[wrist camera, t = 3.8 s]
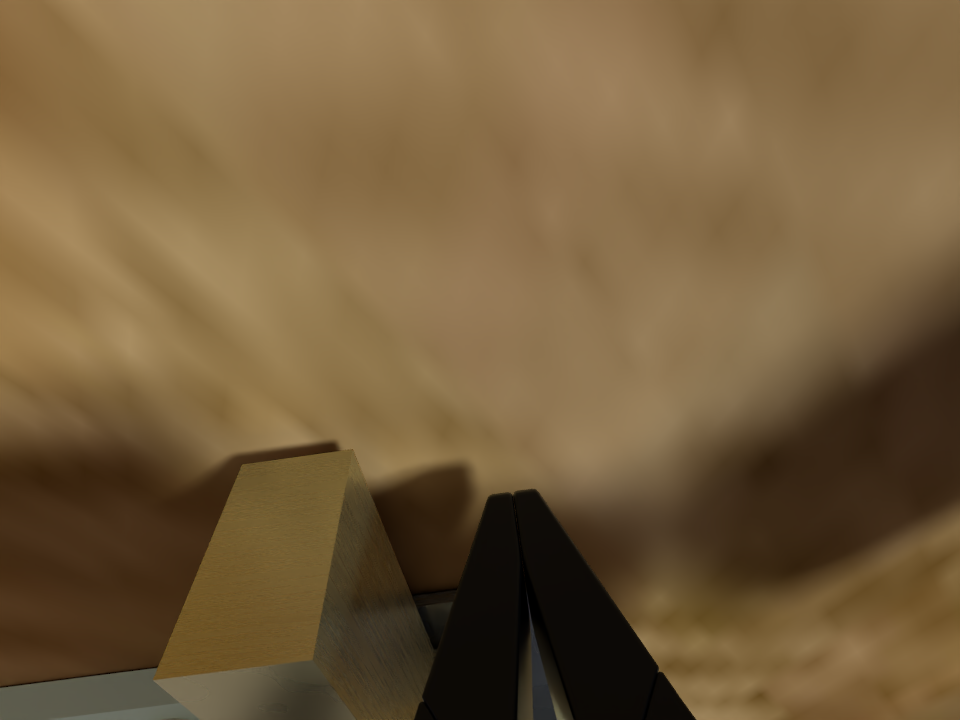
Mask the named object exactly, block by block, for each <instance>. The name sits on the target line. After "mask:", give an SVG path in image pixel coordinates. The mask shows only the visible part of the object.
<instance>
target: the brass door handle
mask: <svg viewBox="0 0 960 720" xmlns="http://www.w3.org/2000/svg"><path fill="white" fill-rule="evenodd" d="M436 652H437V649H433V647H432V645H431V642H430V640H429V637H428V635H427V632H426V630H425V627H424V625H423V622H422V620H421V617H420V615H419V612H418V610H417V607H416V605H415V602H414V600H413V597H412V595H411V592H410V590H409V588H408V585H407V583H406V580H405V578H404V575H403V573H402V570H401V568H400V565H399V563H398V560H397V558H396V555H395V553H394V550H393V548H392V545H391V543H390V540H389V538H388V535H387V533H386V530H385V528H384V525H383V523H382V521H381V518H380V516H379V513H378V511H377V508H376V506H375V503H374V501H373V498H372V496H371V493H370V491H369V488H368V486H367V483H366V481H365V478H364V476H363V473H362V471H361V468H360V466H359V463H358V461H357V458H356V456H355V454H354V451H353V449H351V450H344V451H336V452H329V453H322V454H315V455H308V456H300V457H293V458H286V459H279V460H272V461H264V462H257V463H250V464H243V465H242V466H241V468H240V471H239V473H238V476H237V478H236V481H235V483H234V485H233V488H232V490H231V493H230V495H229V497H228V500H227V502H226V505H225V507H224V509H223V512H222V514H221V517H220V519H219V521H218V524H217V526H216V529H215V531H214V533H213V536H212V538H211V541H210V543H209V546H208V548H207V550H206V553H205V555H204V558H203V560H202V562H201V565H200V567H199V570H198V572H197V574H196V577H195V579H194V582H193V584H192V586H191V589H190V591H189V594H188V596H187V598H186V601H185V603H184V606H183V608H182V611H181V613H180V615H179V618H178V620H177V623H176V625H175V627H174V630H173V632H172V635H171V637H170V639H169V642H168V644H167V647H166V649H165V651H164V654H163V656H162V659H161V661H160V664H159V666H158V668H157V671H156V673H155V676H154V678H153V681H154V682H155V683H156V684H158V685H159V686H160V687H161V688H162V689H164V690H165V691H166V692H167V693H168V694H170V695H171V696H172V697H173V698H174V699H176V700H177V701H178V702H179V703H181V704H182V705H183V706H184V707H185V708H187V709H188V710H189V711H190V712H191V713H193V714H194V715H195V716H196V717H197V718H199V719H200V720H414V717H415V714H416V711H417V708H418V705H419V703H420V702H424V701H423V699H422V694H423V691H424V688H425V685H426V682H427V679H428V676H429V673H430V670H431V667H432V664H433V661H434V658H435V655H436Z"/></svg>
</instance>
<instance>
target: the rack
mask: <svg viewBox="0 0 960 720" xmlns="http://www.w3.org/2000/svg"><path fill="white" fill-rule="evenodd" d="M156 671H157V668H152V669H144V670H136V671H129V672H121V673H113V674H105V675H97V676H90V677H82V678H74V679H66V680H58V681H51V682H43V683H35V684H27V685H19V686H11V687H4V688H0V720H200V719H199V718H197V717H196V716H195V715H194V714H193V713H191V712H190V711H189V710H188V709H187V708H185V707H184V706H183V705H182V704H181V703H179V702H178V701H177V700H176V699H174V698H173V697H172V696H171V695H170V694H168V693H167V692H166V691H165V690H164V689H162V688H161V687H160V686H159V685H158V684H156V683H155V682H154V681H153V678H154V676H155V673H156Z"/></svg>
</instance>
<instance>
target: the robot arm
mask: <svg viewBox="0 0 960 720" xmlns="http://www.w3.org/2000/svg"><path fill="white" fill-rule="evenodd" d="M513 498H514V500H513ZM514 505H515V508H514ZM515 512H516V515H515ZM516 519H517V522H516ZM517 526H518V529H517ZM518 534H519V536H518ZM519 541H520V543H519ZM520 548H521V550H520ZM521 555H522V557H521ZM522 562H523V564H522ZM523 569H524V571H523ZM524 576H525V578H524ZM525 583H526V585H525ZM526 590H527V592H526ZM527 597H528V599H527ZM528 604H529V606H528ZM529 610H530V615H531V621H532V625H533V629H534V634H535V638H536V641H537V645H538V649H539V653H540V657H541V661H542V664H543V668H544V672H545V676H546V680H547V683H548V687H549V691H550V695H551V699H552V702H553V706H554V710H555V714H556V718H557V720H696V719H695V717H694V716H693V715H692V713H691V712H690V711H689V709H688V708H687V706H686V705H685V704H684V702H683V701H682V699H681V698H680V697H679V695H678V694H677V692H676V691H675V689H674V688H673V687H672V685H671V684H670V682H669V681H668V679H667V678H666V676H665V675H664V673H662V672H658V671H659V667H658V665H657V664H656V662H655V661H654V659H653V658H652V656H651V655H650V653H649V652H648V651H647V649H646V648H645V646H644V645H643V643H642V642H641V640H640V639H639V637H638V636H637V635H636V633H635V632H634V630H633V629H632V627H631V626H630V624H629V623H628V621H627V620H626V619H625V617H624V616H623V614H622V613H621V611H620V610H619V608H618V607H617V605H616V604H615V603H614V601H613V600H612V598H611V597H610V595H609V594H608V592H607V591H606V589H605V588H604V587H603V585H602V584H601V582H600V581H599V579H598V578H597V576H596V575H595V573H594V572H593V571H592V569H591V568H590V566H589V565H588V563H587V562H586V560H585V559H584V557H583V556H582V554H581V553H580V552H579V550H578V549H577V547H576V546H575V544H574V543H573V541H572V540H571V538H570V537H569V536H568V534H567V533H566V531H565V530H564V528H563V527H562V525H561V524H560V522H559V521H558V520H557V518H556V517H555V515H554V514H553V512H552V511H551V509H550V508H549V506H548V505H547V504H546V502H545V501H544V499H543V498H542V496H541V495H540V493H539V492H538V491H537V490H535V489H528V490H521V491H516V492H515V493H514V494H513V495H512V494H511V493H509V492H506V493H499V494H492V495H490V496H489V497H488V499H487V502H486V505H485V508H484V511H483V514H482V517H481V520H480V523H479V526H478V529H477V532H476V535H475V538H474V541H473V544H472V547H471V550H470V553H469V556H468V559H467V562H466V565H465V568H464V571H463V574H462V577H461V580H460V583H459V586H458V589H457V592H456V595H455V598H454V601H453V604H452V607H451V610H450V613H449V616H448V619H447V622H446V625H445V628H444V631H443V634H442V637H441V640H440V643H439V646H438V649H437V652H436V655H435V658H434V661H433V664H432V667H431V670H430V673H429V676H428V679H427V682H426V685H425V688H424V691H423V694H422V699H423V701H424V702H420V703H419V705H418V708H417V711H416V714H415V717H414V720H533V698H532V660H531V628H530V615H529Z"/></svg>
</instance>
